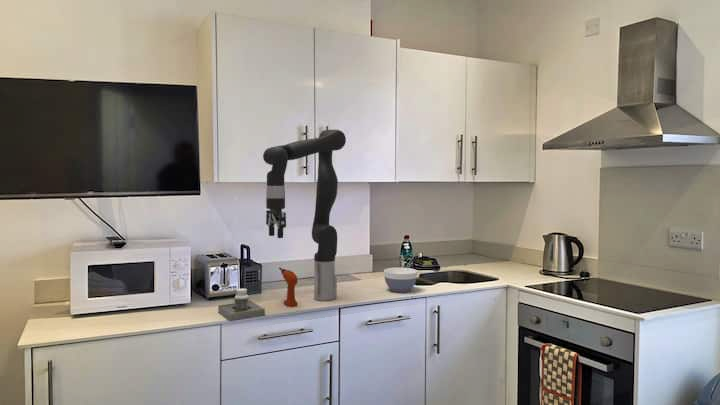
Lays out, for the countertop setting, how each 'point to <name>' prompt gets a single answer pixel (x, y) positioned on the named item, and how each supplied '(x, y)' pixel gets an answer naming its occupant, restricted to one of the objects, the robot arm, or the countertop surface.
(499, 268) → the countertop surface
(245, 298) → the pill bottle
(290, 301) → the toy drill
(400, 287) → the bowl
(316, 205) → the robot arm
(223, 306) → the grey flat square block
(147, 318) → the countertop surface
